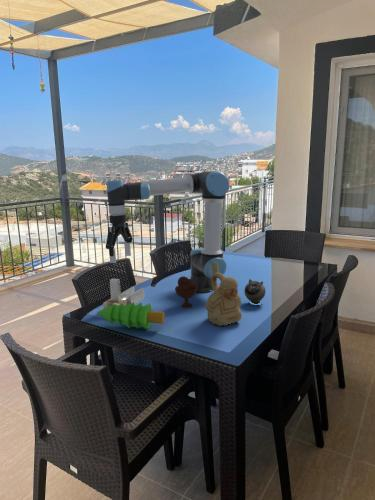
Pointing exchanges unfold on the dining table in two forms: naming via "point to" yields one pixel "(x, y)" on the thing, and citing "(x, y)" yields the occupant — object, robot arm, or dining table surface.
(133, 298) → the channel
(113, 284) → the shiny silver metal piece
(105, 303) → the socket
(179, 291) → the ice cream bowl
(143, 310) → the decorative tree
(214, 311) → the ceramic vessel
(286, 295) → the dining table surface
